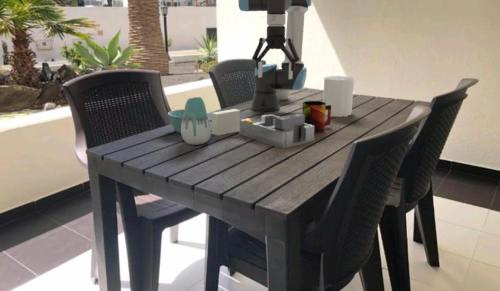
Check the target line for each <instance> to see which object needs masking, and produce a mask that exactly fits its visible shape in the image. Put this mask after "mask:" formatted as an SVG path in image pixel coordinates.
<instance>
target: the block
mask: <svg viewBox="0 0 500 291" xmlns="http://www.w3.org/2000/svg"><path fill="white" fill-rule="evenodd" d="M210 115H211V134H212V135H214V134H215V136H217V135H218V136H221V135H222V136H223V135H226V134H227V133H228V134H231V133H237V132H239V131H240V120H241V110H240V109H236V108H232V109H227V110H220V111H215V112H211V114H210Z"/></svg>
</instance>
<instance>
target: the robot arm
mask: <svg viewBox="0 0 500 291" xmlns="http://www.w3.org/2000/svg"><path fill="white" fill-rule="evenodd" d="M237 5H238V8H239V10H240V11H241V12H266V25H267V27H266V38H265V37H260V38H259V39H258V45H257V47H256V49H255V51H254V53H253V55H252V57H251V60H252V61H254V62H256V63H255V65H256V66H255V68H254V75H253V76H254V95H253V98H252V102H251V104H250V105H251V110H253V111H257V112H274V111H278V110H280V108H281V107H280V101H278V97H277V89H280V90H291V91H301V90H303V88H304V86H305V83H306V78H307V73H308V72H307V71H308V70H307V67H305V63H304V62H303V61H302V59H303V58H302V55H303V40H304V27H305V26H304V24H305V13H306V12H308V11H309V7H312V0H238V4H237ZM286 13H287V17H286ZM286 18H287V20H286ZM285 25H286V26H285ZM265 43H266V46H265V48H264V49H263V50H262V48H263V46H264V44H265ZM261 50H262V52H261ZM270 50H281V51H282V52H283V53H284V60H283V61H281V64H280V65H281V66H278V64H277V63H267V64H263V61H262V60H263V58H264V57H265V56H266V55H267V53H268V52H269V51H270Z"/></svg>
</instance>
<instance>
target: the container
mask: <svg viewBox="0 0 500 291" xmlns="http://www.w3.org/2000/svg"><path fill="white" fill-rule="evenodd" d="M354 85H355V78H354V77H351V76H345V75H344V76H341V75H333V76H325V77H324V80H323V98H322V99H323V100H322V102H325V103H326V106H327V105H331V117H339V118H340V117H341V118H342V117H343V116H344V117H349V116H348V115H350V116H352V114H353V113H352V112H353V109H352V108H353V98H354ZM325 116H327V117H328V110H325Z"/></svg>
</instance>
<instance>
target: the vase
mask: <svg viewBox="0 0 500 291" xmlns="http://www.w3.org/2000/svg"><path fill="white" fill-rule="evenodd" d="M184 109H185V110H184V115H183V119H182V124H181V133H180V134H181V137H182V139H183V141H184V142H185V143H186V144H188V145H192V146H200V145H203V144H206V143H207V142H208V141H209V140H210V138H211V134H212V125H211V123H210V122H211V121H210V119H209V115H208V112H207V108H206V105H205V101H204V100H203V98H202V97H201V96H198V97H195V96H194V97H190V98H188V99H187V100H186V102H185V106H184Z"/></svg>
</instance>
